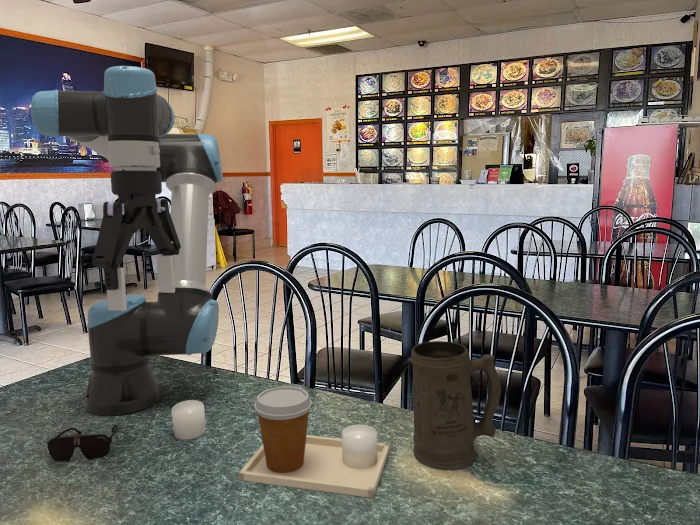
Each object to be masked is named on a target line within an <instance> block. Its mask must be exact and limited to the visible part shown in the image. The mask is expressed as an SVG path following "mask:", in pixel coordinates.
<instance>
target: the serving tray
mask: <svg viewBox="0 0 700 525" xmlns="http://www.w3.org/2000/svg"><path fill="white" fill-rule="evenodd" d="M390 446H391V445H390V443H382V442H377V462H376V464H374V465H373V466H371V467H368V468H363V469H357V468H351V467H348V466H346V465H345V464H344V463H343V461H342V438H338V437H337V438H336V437H327V436H319V435H309V434H306V445H305V454H304V464H303V465H302V466H301V468H299V469H297V470H295V471H292V472H287V473H279V472H274V471H271V470H270V469H269V468H268V467H267V464H266V458H265V452H264V446H263V443H262V444H261V446H259V448H258V449H257V450H256V451H255V453H254V454H253V455H252V456H251V457H250V459H249V460H248V461H247V462H246V463H245V465H244V466H243V467H242V468H241V469H240V471H239V472H238V480H239V481H242V482H251V483H258V484H265V485H272V486H279V487H280V486H281V487H285V488H286V487H287V488H293V489H294V488H295V489H302V490H310V491H315V492H316V491H317V492H324V493H330V494H331V493H332V494H340V495H347V496H353V497H360V498H361V497H362V498H369V499H374V498H375V495H376V491H377V488H378V485H379V483H380V481H381V476H382V473H383V471H384V468H385V465H386V462H387V459H388V456H389V454H390V449H391V448H390Z"/></svg>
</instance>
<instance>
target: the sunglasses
mask: <svg viewBox="0 0 700 525" xmlns="http://www.w3.org/2000/svg"><path fill="white" fill-rule="evenodd" d="M118 429H119V427H118V424H113V426H112V428H111V429H110V432H111V435H110V436H108V435H106V434H99V433H98V434H94V433H88V434H83V433H82V431H80V430H79V429H77V428H74V427H70V428H67V429H65V430H63V431H61V432H60V433H58V435H56V436H54V438H51V439H49V440H48V441H47V442H46V446H47V449H48V453H49V456H50V457H51V459H52V460H53V461H55V462H65V463H66V462H68V463H69V462H70V461H71V460H72V457H73V454H74V451H75V449H77V448H78V449H79V450H80V452H81V454H82V455H83V457H84V458H85V459H86V460H88V461H91V460H95V459H100V457H101V458H104V456H105V457H106V456H108V454H109V453H110V450H111V445H112V443H113V440H114V439H115V437H116V435H117V431H118ZM70 431H74V432H76V433H77V434H74V435H64V434H66V433H67V432H70ZM63 435H64V436H63Z"/></svg>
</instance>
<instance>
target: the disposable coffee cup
mask: <svg viewBox="0 0 700 525" xmlns="http://www.w3.org/2000/svg"><path fill="white" fill-rule="evenodd" d="M312 404H313V401H312V399H311V398H310V395H309V392H308V391H307V390H306V389H303V388H300V387H295V386H276V387H272V388H268V389H266V390H263V391H262V392H260V393H259V394H258V395H257V397H256V401H255V402H254V405H253V406H254V410H255V411H256V413H257V416H258V422H259V427H260V428H259V429H260V434H261V440H262V444H263V446H264V452H265V458H266V464H267V467H268V468H269V469H270V470H271V471H274V472H279V473H287V472H292V471H295V470H297V469H299V468H301V466H302V465H303V464H304V454H305V445H306V435H308V434H307V433H308V422H309V415H310V414H309V413H310V410H311V407H312Z"/></svg>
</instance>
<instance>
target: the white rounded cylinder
mask: <svg viewBox="0 0 700 525" xmlns="http://www.w3.org/2000/svg"><path fill="white" fill-rule="evenodd" d="M341 439H342V461H343V463H344V464H345V465H346V466H348V467H351V468H357V469H363V468H368V467H371V466H373V465H374V464H376V462H377V443H378V431H377V429H376V428H375V427H373V426H371V425H367V424H352V425H348V426H346V427H344V428H343V429H342V431H341Z"/></svg>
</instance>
